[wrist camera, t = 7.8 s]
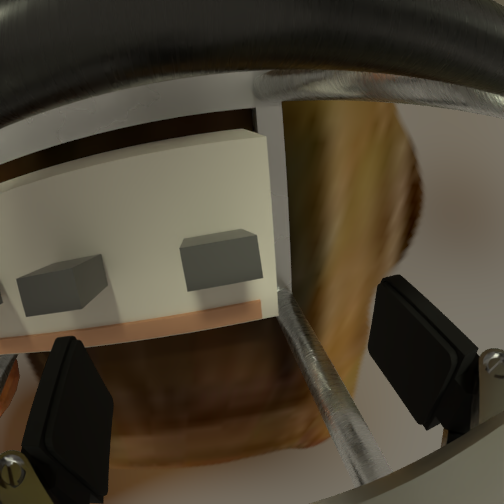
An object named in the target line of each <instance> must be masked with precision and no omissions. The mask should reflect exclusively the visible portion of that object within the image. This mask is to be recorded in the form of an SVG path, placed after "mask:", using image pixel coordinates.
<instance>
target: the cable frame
mask: <svg viewBox="0 0 504 504" xmlns="http://www.w3.org/2000/svg"><path fill="white" fill-rule="evenodd" d="M299 100H348V101H374V102H390V103H402V104H413V105H423V106H431V107H439V108H447V109H453V110H460V111H466V112H472V113H478V114H483V115H489V116H493V117H498V118H503V119H504V6H502V5H500V4H499V3H497V2H495V1H493V0H0V164H3V163H6V162H8V161H11V160H14V159H17V158H19V157H22V156H25V155H28V154H31V153H34V152H37V151H40V150H43V149H46V148H49V147H52V146H56V145H59V144H62V143H66V142H69V141H73V140H76V139H80V138H84V137H87V136H91V135H95V134H99V133H103V132H107V131H111V130H116V129H120V128H124V127H129V126H134V125H138V124H143V123H148V122H154V121H159V120H164V119H170V118H176V117H182V116H189V115H195V114H202V113H210V112H218V111H226V110H235V109H245V108H252V118H253V129H254V132H255V133H258V134H261V135H264V136H266V138H267V151H268V163H269V176H270V189H271V203H272V217H273V232H274V247H275V262H276V279H277V296H278V314H279V316H276V318H277V320H278V322H279V324H280V327H281V329H282V331H283V333H284V335H285V337H286V340H287V342H288V344H289V346H290V348H291V350H292V353H293V355H294V357H295V359H296V361H297V364H298V366H299V368H300V370H301V372H302V374H303V377H304V379H305V381H306V383H307V385H308V387H309V390H310V392H311V394H312V396H313V398H314V400H315V403H316V405H317V407H318V409H319V411H320V413H321V415H322V418H323V420H324V422H325V424H326V426H327V428H328V431H329V433H330V435H331V437H332V439H333V441H334V443H335V445H336V448H337V450H338V452H339V454H340V456H341V458H342V461H343V463H344V465H345V467H346V469H347V471H348V474H349V476H350V478H351V480H352V482H353V484H354V486H355V488H357V487H360V486H362V485H365V484H367V483H370V482H372V481H374V480H377V479H379V478H381V477H384V476H386V475H388V474H391V473H393V471H392V469H391V467H390V466H389V464H388V462H387V460H386V458H385V456H384V455H383V453H382V451H381V449H380V448H379V446H378V444H377V442H376V440H375V439H374V437H373V435H372V433H371V431H370V430H369V428H368V426H367V424H366V423H365V421H364V419H363V417H362V415H361V414H360V412H359V410H358V408H357V406H356V405H355V403H354V401H353V399H352V398H351V396H350V394H349V392H348V391H347V389H346V387H345V385H344V384H343V382H342V380H341V378H340V377H339V375H338V373H337V371H336V369H335V368H334V366H333V364H332V362H331V361H330V359H329V357H328V356H327V354H326V352H325V350H324V349H323V347H322V345H321V343H320V342H319V340H318V338H317V336H316V335H315V333H314V331H313V329H312V328H311V326H310V324H309V322H308V321H307V319H306V317H305V316H304V314H303V312H302V310H301V309H300V307H299V305H298V304H297V302H296V300H295V298H294V297H293V295H292V286H291V257H290V233H289V212H288V193H287V176H286V160H285V145H284V131H283V118H282V106H281V101H299ZM17 355H18V354H4V355H0V396H1V393H2V390H3V388H4V385H5V383H6V381H7V378H8V376H9V373H10V371H11V369H12V366H13V364H14V362H15V360H16V358H17Z"/></svg>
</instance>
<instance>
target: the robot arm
mask: <svg viewBox="0 0 504 504" xmlns="http://www.w3.org/2000/svg"><path fill="white" fill-rule="evenodd" d="M477 350H478V347H477V346H476V345H475V344H474V343H472V341H471V340H470V339H468V337H466V335H464V333H462V332H461V331H460V330H459V329H458V328H457V327H456V326H455V325H454V324H453V323H452V322H451V321H450V320H449V319H448V318H447V317H446V316H445V315H443V313H442V312H440V310H439V309H437V308H436V307H435V306H434V305H433V304H432V303H431V302H430V301H429V300H428V299H427V298H425V297H424V296H423V295H422V294H421V293H420V292H419V291H418V290H417V289H416V288H415V287H413V286H412V285H411V284H410V283H409V282H408V281H407V280H406V279H404V278H403V277H402V276H401V275H393V276H389V277H386V278H383V279H382V281H381V283H380V284H378V286H377V292H376V299H375V306H374V312H373V319H372V325H371V330H370V336H369V342H368V351H369V353H370V355H371V357H372V358H373V360H374V361H375V362H376V364H377V365H378V367H379V368H380V369H381V371H382V372H383V374H384V375H385V377H386V378H387V380H388V381H389V382H390V384H391V385H392V387H393V388H394V390H395V391H396V392H397V394H398V395H399V397H400V398H401V400H402V401H403V403H404V404H405V406H406V407H407V408H408V410H409V412H410V413H411V415H412V416H413V417H414V419H415V420H416V421H417V423H418V424H420V425H422V424H423V426H424V427H425V429H426V430H429V429H431V428H433V427H434V426H436V425H438V424H440V423H441V425H442V426H443V427H444V429H443V437H442V443H441V448H440V449H438V450H436V451H434V452H433V453H431V454H429V455H427V456H425V457H423V458H421V459H419V460H418V461H416V462H414V463H412V464H410V465H408V466H406V467H403V468H401V469H399V470H397V471H395V472H393V473H391V474H388V475H386V476H384V477H381V478H379V479H377V480H374V481H372V482H370V483H367V484H365V485H362V486H360V487H357V488H354V489H352V490H349V491H346V492H343V493H341V494H338V495H335V496H332V497H329V498H326V499H323V500H320V501H316V502H313V503H310V504H504V350H502V349H498V348H491V349H487V350H485V351H484V352H482V354H481V355H480V356H479V355H478V354H477ZM112 417H113V399H112V396H111V395H110V393H109V391H108V389H107V388H106V386H105V384H104V382H103V381H102V379H101V377H100V375H99V373H98V372H97V370H96V368H95V366H94V364H93V362H92V360H91V358H90V356H89V355H88V353H87V351H86V349H85V347H84V345H83V343H82V341H81V340H77V339H76V337H75V336H64V337H57V338H56V339H55V341H54V344H53V347H52V349H51V352H50V354H49V357H48V360H47V363H46V365H45V368H44V371H43V374H42V377H41V380H40V383H39V386H38V389H37V392H36V395H35V398H34V401H33V404H32V408H31V411H30V415H29V418H28V422H27V425H26V429H25V433H24V437H23V441H22V445H21V446H22V450H21V452H19V451H15V450H9V451H6V452H4V453H2V454H0V504H89V503H103V496H105V495H107V492H108V472H109V454H110V440H111V427H112Z"/></svg>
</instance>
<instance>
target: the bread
mask: <svg viewBox="0 0 504 504" xmlns="http://www.w3.org/2000/svg"><path fill="white" fill-rule="evenodd" d="M19 377H20V376H19V369H18V363H17V360H15V362H14V364H13V366H12V369H11V371H10V373H9V376H8V378H7V381H6V383H5V385H4V388H3V390H2V393H1V396H0V417H1V416H2V414H3V413H4V411H5V410H6V409H7V408H8V406H9V405H10V403H11V401H12V398H13V396H14V394H15V392H16V390H17V385H18V381H19Z"/></svg>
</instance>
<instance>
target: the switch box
mask: <svg viewBox="0 0 504 504" xmlns="http://www.w3.org/2000/svg"><path fill="white" fill-rule="evenodd" d="M237 229H244V230H246V231H248V232H251V233H253V234H256V235H257V239H258V245H259V252H260V259H261V266H262V272H263V278H261V279H256V280H251V281H245V282H240V283H235V284H229V285H224V286H218V287H213V288H207V289H201V290H196V291H190V292H187V287H186V281H185V276H184V271H183V266H182V260H181V255H180V249H179V248H180V246H181V243H182V241H183V239H184V238H190V237H195V236H201V235H207V234H213V233H219V232H225V231H231V230H237ZM97 254H101V255H102V260H103V265H104V270H105V274H106V279H107V283H108V286H107V287H106V288H105V289H104V290H102V291H101V292H100V293H99V294H98V295H97V296H96V297H95V298H94V299H93V300H91V301H90V302H89V303H88V304H87V305H86V306H85V307H84V308H83V309H79V310H72V311H66V312H59V313H52V314H45V315H38V316H30V317H26V315H25V312H24V308H23V305H22V301H21V297H20V293H19V289H18V285H17V281H16V279H17V278H19V277H21V276H24V275H26V274H29V273H31V272H33V271H36V270H38V269H40V268H43V267H45V266H48V265H50V264H53V263H56V262H61V261H66V260H71V259H76V258H82V257H87V256H92V255H97ZM0 293H1V297H2V301H3V303H2V304H0V355H4V354H20V353H33V352H45V351H51V349H52V347H53V344H54V341H55V339H56V338H57V337H64V336H75V337H76V339H77V340H81V341H82V343H83V345H84V347H94V346H102V345H110V344H118V343H125V342H133V341H140V340H147V339H153V338H160V337H166V336H173V335H179V334H185V333H191V332H197V331H202V330H208V329H213V328H219V327H224V326H230V325H235V324H240V323H245V322H250V321H255V320H260V319H265V318H270V317H274V316H279V314H278V296H277V279H276V262H275V247H274V232H273V217H272V203H271V189H270V176H269V163H268V151H267V138H266V136H264V135H261V134H258V133H255V132H252V131H249V130H246V129H243V128H242V129H233V130H225V131H217V132H210V133H203V134H196V135H190V136H183V137H177V138H171V139H166V140H160V141H155V142H150V143H145V144H140V145H135V146H130V147H125V148H121V149H116V150H112V151H108V152H103V153H99V154H95V155H91V156H87V157H83V158H80V159H76V160H72V161H68V162H65V163H61V164H58V165H54V166H51V167H48V168H44V169H41V170H38V171H35V172H32V173H28V174H25V175H22V176H19V177H16V178H13V179H11V180H8V181H5V182H2V183H0Z"/></svg>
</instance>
